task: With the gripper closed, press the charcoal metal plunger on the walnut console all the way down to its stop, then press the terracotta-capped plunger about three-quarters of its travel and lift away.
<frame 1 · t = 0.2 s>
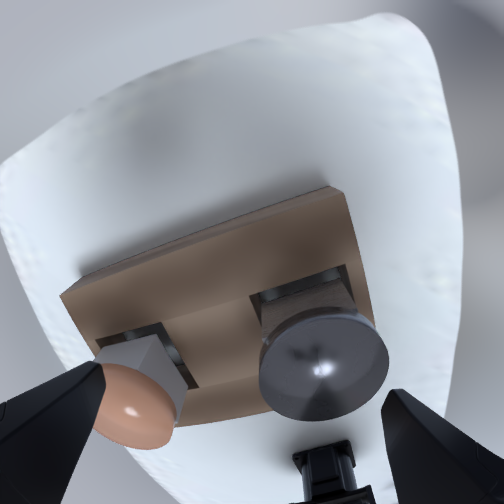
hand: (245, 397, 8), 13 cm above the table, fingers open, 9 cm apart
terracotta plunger: (133, 391, 17), point 6 cm above the table, slide at 0.0 cm
console: (226, 320, 23), on the table
charcoal plunger: (317, 348, 16), point 6 cm above the table, slide at 0.0 cm
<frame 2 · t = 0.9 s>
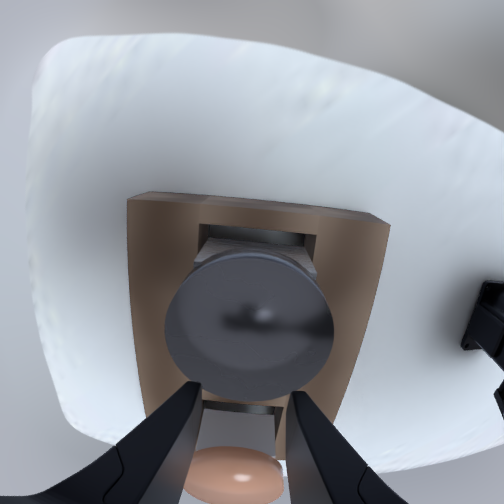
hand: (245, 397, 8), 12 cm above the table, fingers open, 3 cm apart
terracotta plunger: (234, 459, 17), point 6 cm above the table, slide at 0.0 cm
console: (245, 341, 21), on the table
charcoal plunger: (250, 309, 14), point 6 cm above the table, slide at 0.0 cm
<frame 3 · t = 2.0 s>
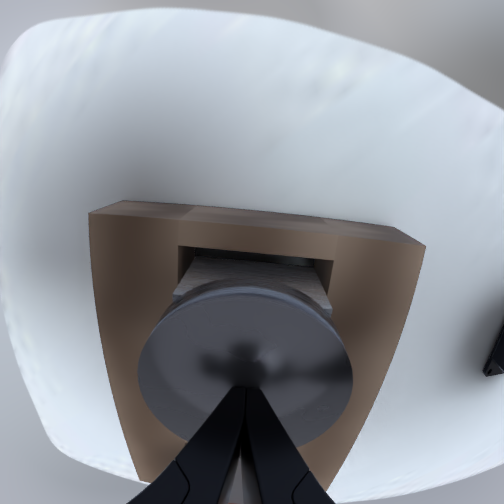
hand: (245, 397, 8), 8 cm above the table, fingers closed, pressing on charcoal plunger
console: (242, 376, 18), on the table
charcoal plunger: (247, 348, 11), point 5 cm above the table, slide at 1.0 cm, touching gripper
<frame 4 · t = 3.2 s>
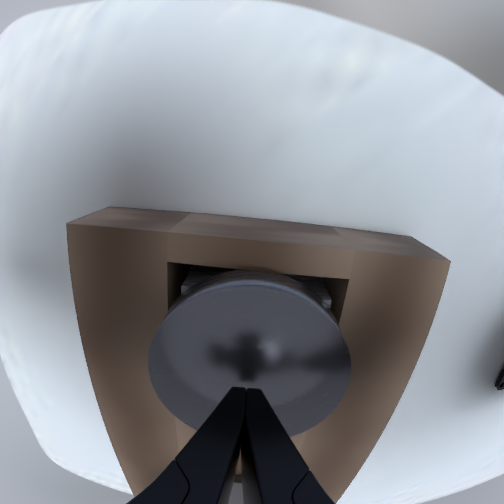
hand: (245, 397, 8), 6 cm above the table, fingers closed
console: (242, 397, 16), on the table
charcoal plunger: (251, 338, 11), point 3 cm above the table, slide at 3.6 cm
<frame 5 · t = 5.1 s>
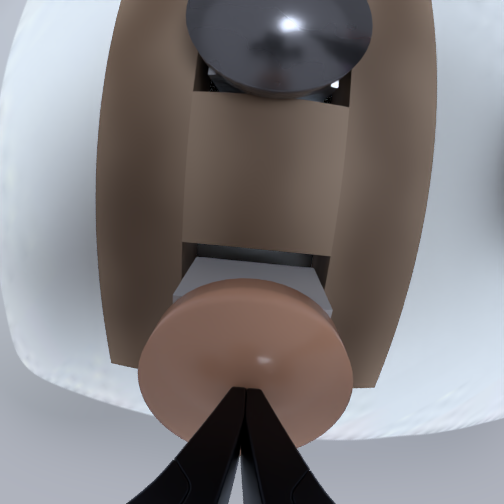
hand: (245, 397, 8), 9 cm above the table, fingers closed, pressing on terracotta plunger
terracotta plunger: (247, 348, 11), point 6 cm above the table, slide at 0.4 cm, touching gripper
console: (263, 169, 15), on the table
charcoal plunger: (277, 34, 10), point 3 cm above the table, slide at 3.6 cm
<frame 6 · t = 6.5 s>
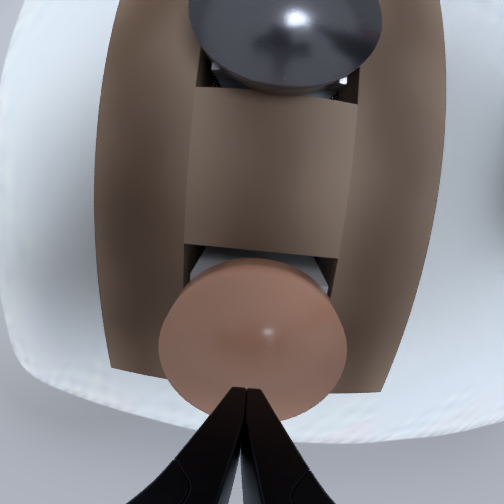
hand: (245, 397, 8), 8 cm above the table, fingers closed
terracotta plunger: (253, 324, 12), point 4 cm above the table, slide at 2.5 cm
console: (267, 168, 14), on the table
charcoal plunger: (282, 29, 10), point 3 cm above the table, slide at 3.6 cm
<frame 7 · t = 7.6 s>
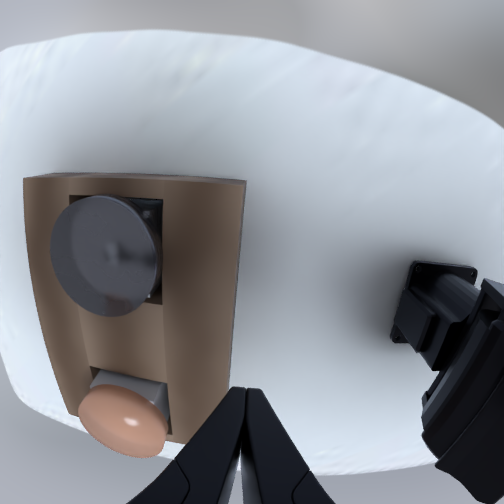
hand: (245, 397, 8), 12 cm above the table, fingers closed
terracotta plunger: (130, 406, 19), point 4 cm above the table, slide at 2.5 cm
console: (138, 314, 21), on the table
charcoal plunger: (117, 246, 17), point 3 cm above the table, slide at 3.6 cm
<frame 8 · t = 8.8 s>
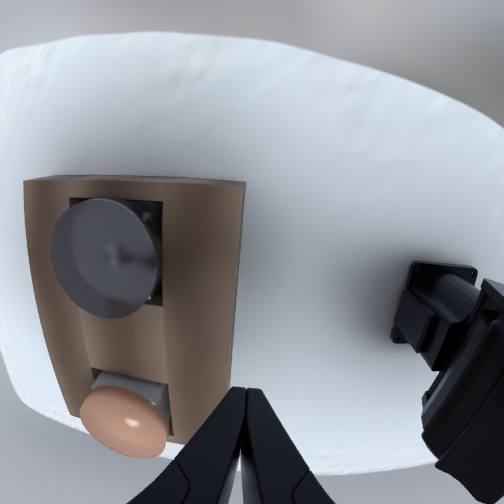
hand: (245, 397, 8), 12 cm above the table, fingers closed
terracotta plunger: (131, 408, 19), point 4 cm above the table, slide at 2.5 cm
console: (139, 315, 21), on the table
charcoal plunger: (117, 248, 17), point 3 cm above the table, slide at 3.6 cm
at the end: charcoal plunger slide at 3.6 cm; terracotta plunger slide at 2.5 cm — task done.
